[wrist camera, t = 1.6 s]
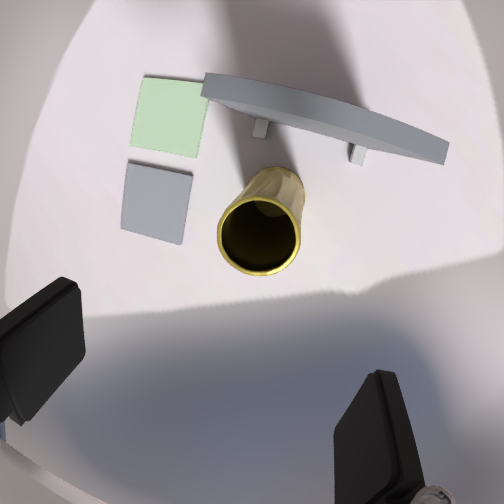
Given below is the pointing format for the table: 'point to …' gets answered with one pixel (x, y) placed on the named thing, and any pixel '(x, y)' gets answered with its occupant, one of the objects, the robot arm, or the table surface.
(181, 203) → the pad slate
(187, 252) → the table surface
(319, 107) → the screen
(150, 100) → the pad sage
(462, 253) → the table surface
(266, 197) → the vase
